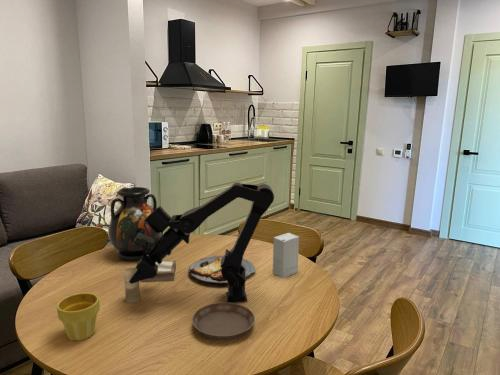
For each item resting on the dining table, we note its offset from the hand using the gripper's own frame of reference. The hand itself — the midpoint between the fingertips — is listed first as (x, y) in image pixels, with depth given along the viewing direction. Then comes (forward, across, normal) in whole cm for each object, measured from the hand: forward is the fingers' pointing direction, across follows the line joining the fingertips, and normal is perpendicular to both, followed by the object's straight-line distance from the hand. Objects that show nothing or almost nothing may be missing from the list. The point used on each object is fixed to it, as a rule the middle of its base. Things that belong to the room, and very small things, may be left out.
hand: (132, 276), depth 119 cm
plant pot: (+14, +18, -2) cm, 23 cm away
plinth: (+1, -18, +10) cm, 21 cm away
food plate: (-15, -18, +27) cm, 35 cm away
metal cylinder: (+6, 0, +6) cm, 8 cm away
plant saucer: (-14, +18, +26) cm, 35 cm away
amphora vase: (+10, -39, +2) cm, 40 cm away
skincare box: (-32, -15, +43) cm, 56 cm away
